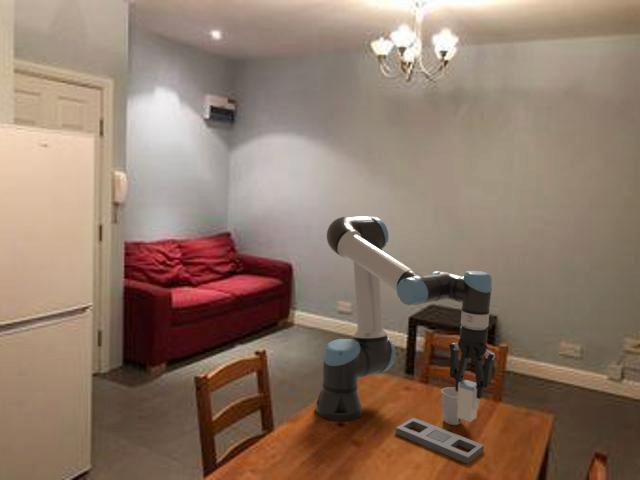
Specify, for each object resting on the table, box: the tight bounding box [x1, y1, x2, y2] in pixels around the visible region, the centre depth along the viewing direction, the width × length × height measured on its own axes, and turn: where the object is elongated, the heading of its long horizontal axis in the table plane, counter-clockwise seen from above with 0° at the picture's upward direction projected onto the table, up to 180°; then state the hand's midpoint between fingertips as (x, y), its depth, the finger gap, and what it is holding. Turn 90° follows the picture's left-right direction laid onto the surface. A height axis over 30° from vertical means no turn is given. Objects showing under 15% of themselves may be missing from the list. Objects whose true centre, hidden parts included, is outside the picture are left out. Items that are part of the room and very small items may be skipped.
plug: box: [457, 379, 478, 423], centre depth 157 cm, size 4×4×10 cm
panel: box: [395, 417, 485, 465], centre depth 165 cm, size 24×10×2 cm, turn 49°
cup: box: [441, 386, 463, 426], centre depth 179 cm, size 8×8×10 cm
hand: (467, 405), depth 157 cm, fingers closed on plug, 4 cm apart
